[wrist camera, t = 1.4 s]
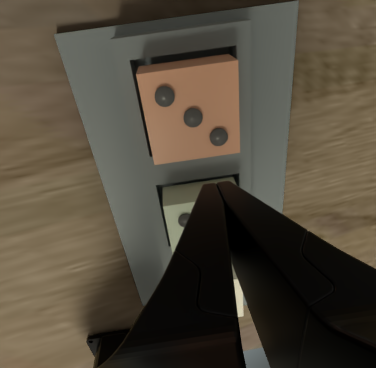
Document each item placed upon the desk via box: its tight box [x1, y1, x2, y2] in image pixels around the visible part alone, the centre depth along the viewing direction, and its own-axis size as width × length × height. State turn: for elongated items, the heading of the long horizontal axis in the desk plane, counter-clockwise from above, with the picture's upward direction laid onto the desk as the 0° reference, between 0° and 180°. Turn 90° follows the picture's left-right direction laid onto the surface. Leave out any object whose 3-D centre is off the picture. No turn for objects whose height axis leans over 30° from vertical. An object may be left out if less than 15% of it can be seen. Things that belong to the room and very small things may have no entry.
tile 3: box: [136, 54, 240, 165], centre depth 16 cm, size 5×5×2 cm
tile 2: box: [162, 177, 236, 254], centre depth 20 cm, size 5×5×2 cm
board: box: [54, 1, 299, 306], centre depth 22 cm, size 25×14×2 cm, turn 7°
